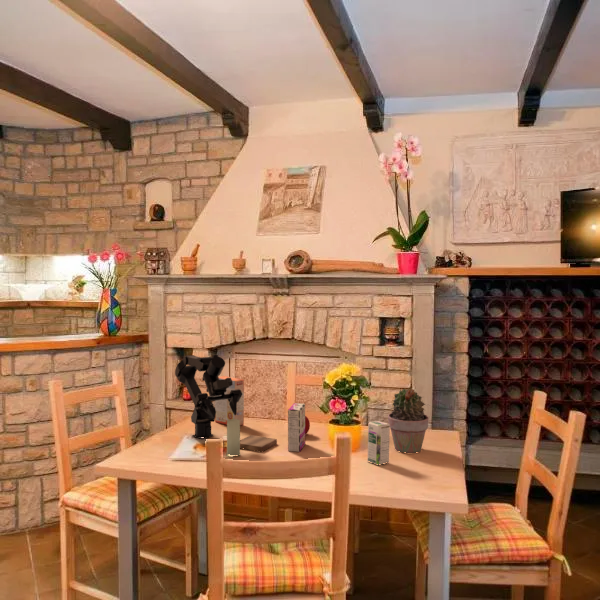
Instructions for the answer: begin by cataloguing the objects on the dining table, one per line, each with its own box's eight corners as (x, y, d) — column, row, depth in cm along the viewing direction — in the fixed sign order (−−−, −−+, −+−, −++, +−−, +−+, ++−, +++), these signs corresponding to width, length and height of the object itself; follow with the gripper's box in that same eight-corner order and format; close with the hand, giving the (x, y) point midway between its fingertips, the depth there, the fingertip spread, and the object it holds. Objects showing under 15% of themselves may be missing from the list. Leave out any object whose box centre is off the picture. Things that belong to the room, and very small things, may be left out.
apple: (313, 434, 236) (314, 410, 236) (302, 439, 229) (302, 415, 228) (295, 430, 241) (295, 408, 241) (284, 435, 234) (284, 412, 233)
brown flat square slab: (235, 447, 216) (235, 442, 216) (251, 439, 227) (251, 435, 227) (261, 452, 211) (261, 447, 211) (276, 443, 222) (276, 439, 221)
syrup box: (366, 462, 200) (367, 422, 200) (378, 459, 204) (378, 420, 203) (378, 466, 196) (378, 425, 195) (389, 463, 199) (390, 423, 199)
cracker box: (244, 425, 250) (244, 379, 249) (234, 427, 245) (234, 380, 245) (224, 419, 259) (224, 375, 259) (214, 421, 255) (214, 376, 254)
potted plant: (413, 440, 228) (414, 380, 227) (440, 454, 210) (442, 389, 209) (374, 444, 222) (375, 382, 221) (399, 459, 204) (400, 392, 203)
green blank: (224, 455, 207) (224, 421, 206) (233, 452, 210) (233, 418, 210) (233, 458, 204) (233, 423, 203) (242, 454, 208) (242, 420, 207)
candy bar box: (293, 443, 223) (293, 402, 222) (305, 444, 222) (305, 403, 221) (287, 451, 212) (287, 409, 211) (299, 452, 211) (300, 409, 210)
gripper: (196, 373, 212) (208, 407, 203) (240, 369, 222) (253, 401, 213) (188, 390, 218) (200, 424, 210) (231, 385, 229) (243, 417, 220)
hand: (224, 416), depth 213 cm, fingers open, 9 cm apart
